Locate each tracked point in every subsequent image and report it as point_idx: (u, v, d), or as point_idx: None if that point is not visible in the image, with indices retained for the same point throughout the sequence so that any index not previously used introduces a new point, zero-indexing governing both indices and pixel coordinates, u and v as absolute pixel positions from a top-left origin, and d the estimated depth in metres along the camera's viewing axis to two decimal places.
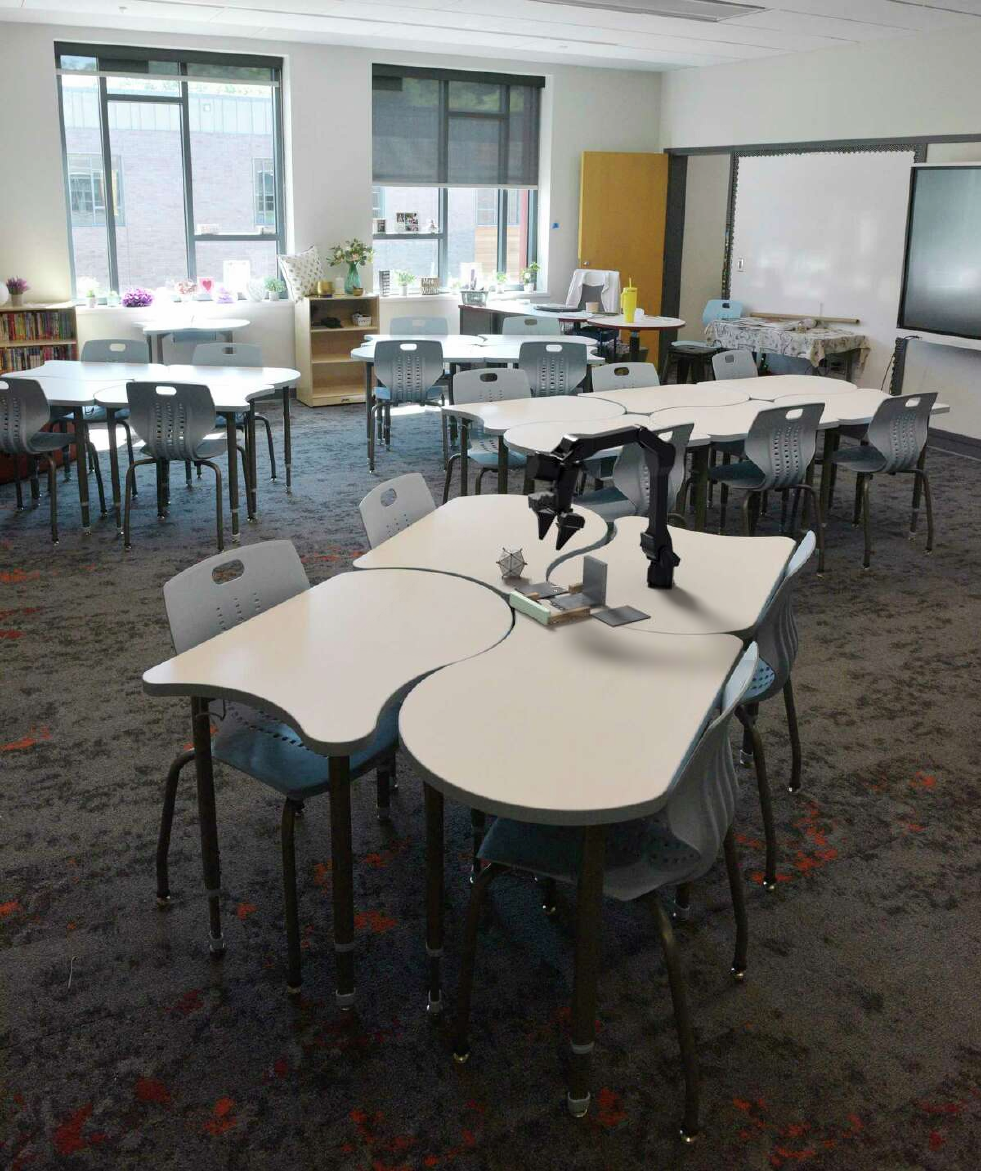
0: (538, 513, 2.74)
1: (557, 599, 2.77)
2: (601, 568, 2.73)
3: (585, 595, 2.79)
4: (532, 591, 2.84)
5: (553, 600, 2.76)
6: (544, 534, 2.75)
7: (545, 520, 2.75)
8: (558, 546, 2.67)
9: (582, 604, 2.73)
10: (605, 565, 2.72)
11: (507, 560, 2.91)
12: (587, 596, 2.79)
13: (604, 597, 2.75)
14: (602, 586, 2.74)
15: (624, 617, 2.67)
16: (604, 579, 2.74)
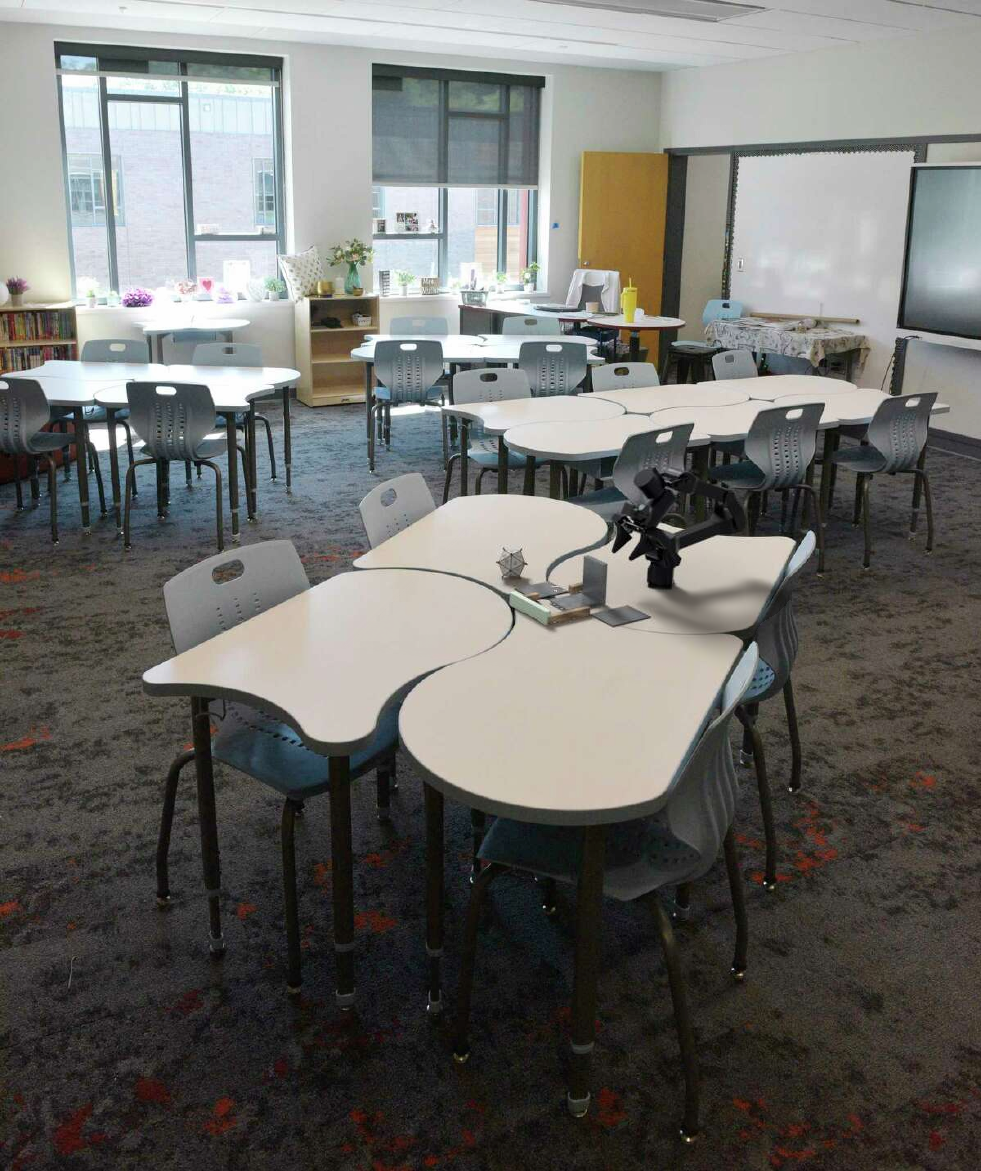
0: (621, 527, 2.82)
1: (557, 599, 2.77)
2: (601, 568, 2.73)
3: (585, 595, 2.79)
4: (532, 591, 2.84)
5: (553, 600, 2.76)
6: (617, 549, 2.83)
7: (623, 537, 2.83)
8: (632, 556, 2.76)
9: (582, 604, 2.73)
10: (605, 565, 2.72)
11: (507, 560, 2.91)
12: (587, 596, 2.79)
13: (604, 597, 2.75)
14: (602, 586, 2.74)
15: (624, 617, 2.67)
16: (604, 579, 2.74)
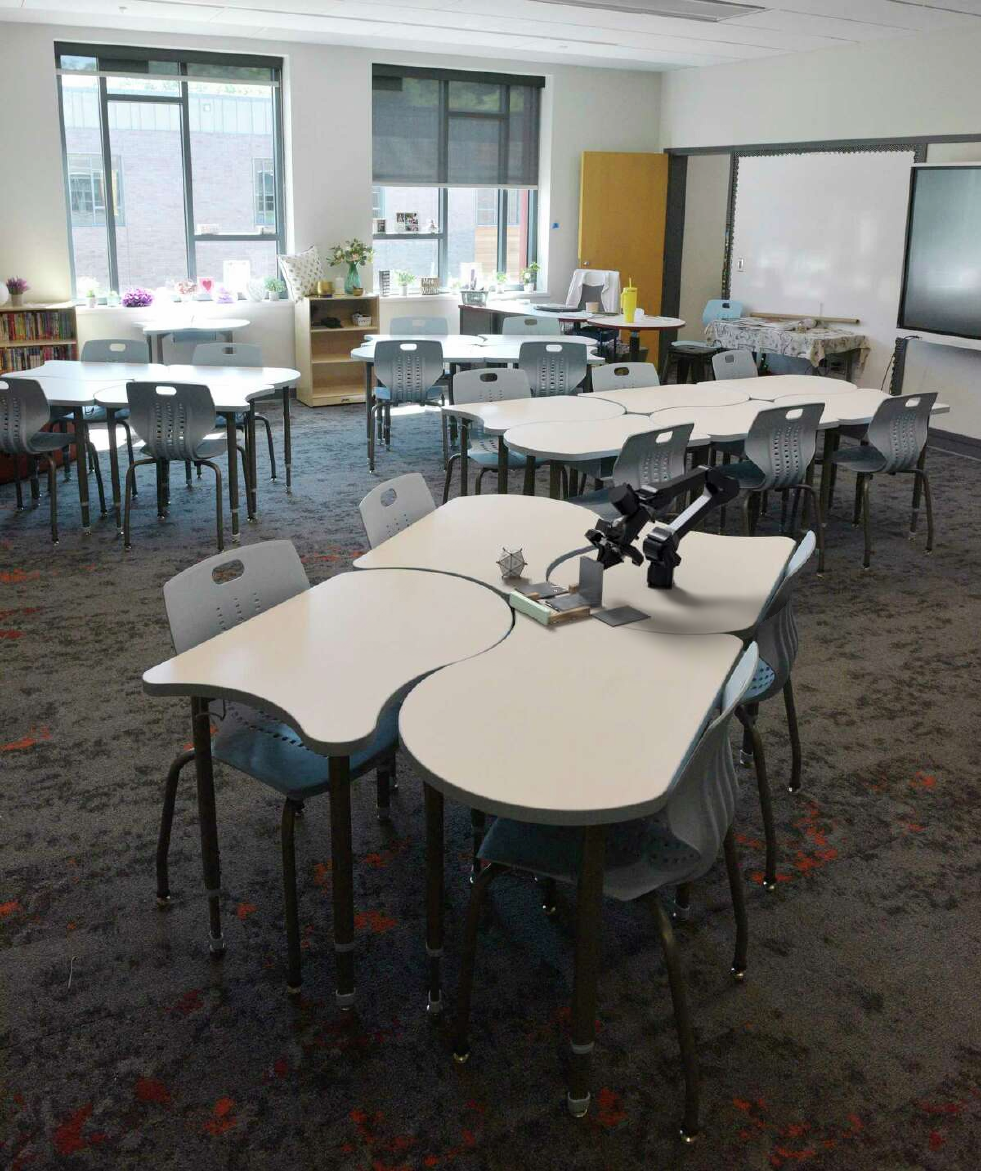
0: (603, 547, 2.76)
1: (553, 600, 2.76)
2: (597, 569, 2.72)
3: (581, 596, 2.79)
4: (532, 591, 2.84)
5: (549, 601, 2.75)
6: None
7: None
8: None
9: (578, 605, 2.73)
10: (601, 566, 2.72)
11: (507, 560, 2.91)
12: (583, 597, 2.78)
13: (600, 598, 2.75)
14: (598, 587, 2.73)
15: (624, 617, 2.67)
16: (600, 580, 2.73)
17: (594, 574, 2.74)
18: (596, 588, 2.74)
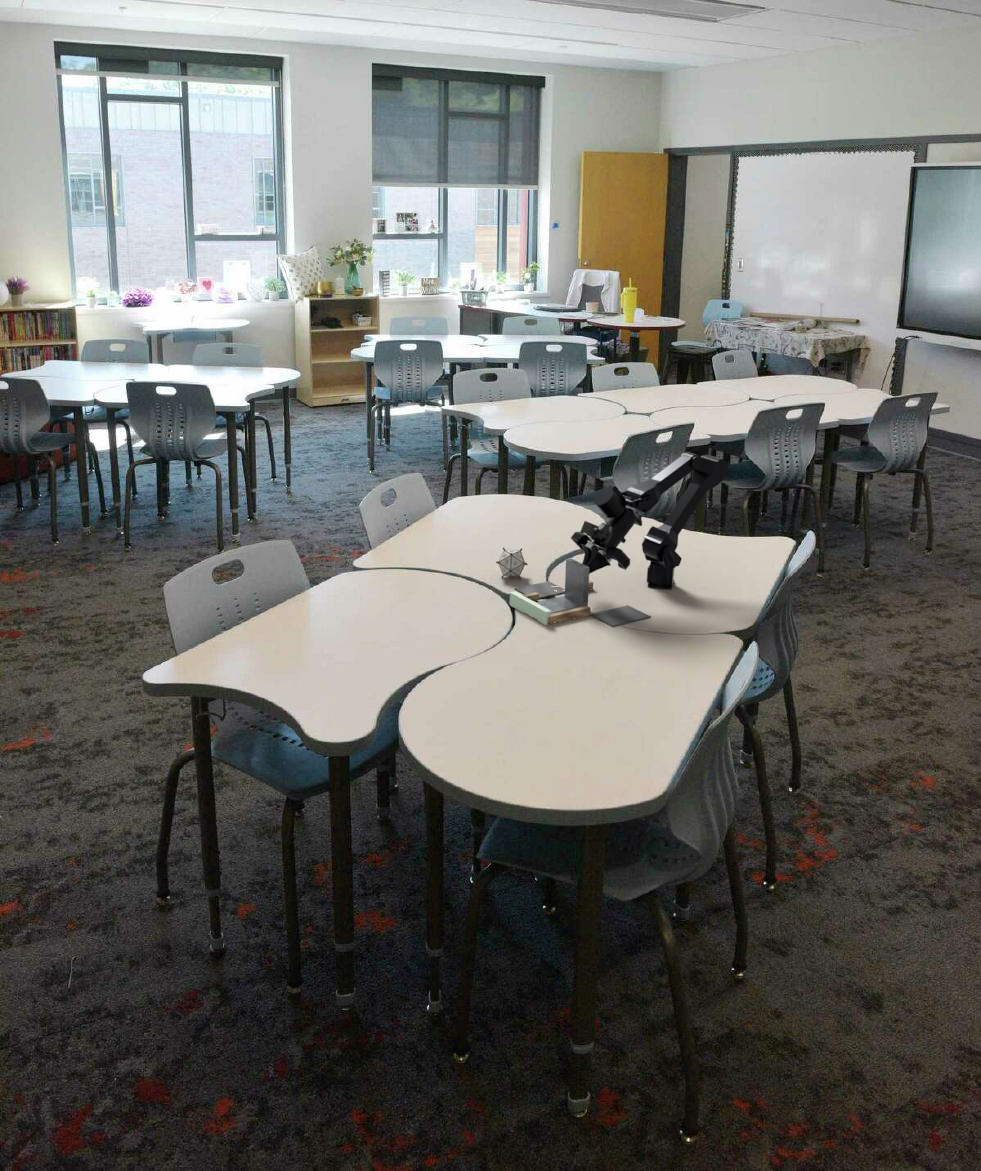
0: (589, 550, 2.74)
1: (539, 603, 2.74)
2: (583, 572, 2.70)
3: (567, 599, 2.77)
4: (532, 591, 2.84)
5: None
6: None
7: None
8: None
9: (564, 608, 2.70)
10: (587, 569, 2.70)
11: (507, 560, 2.91)
12: (569, 600, 2.76)
13: (586, 601, 2.73)
14: (584, 590, 2.71)
15: (624, 617, 2.67)
16: (586, 583, 2.71)
17: (580, 577, 2.71)
18: (582, 591, 2.72)
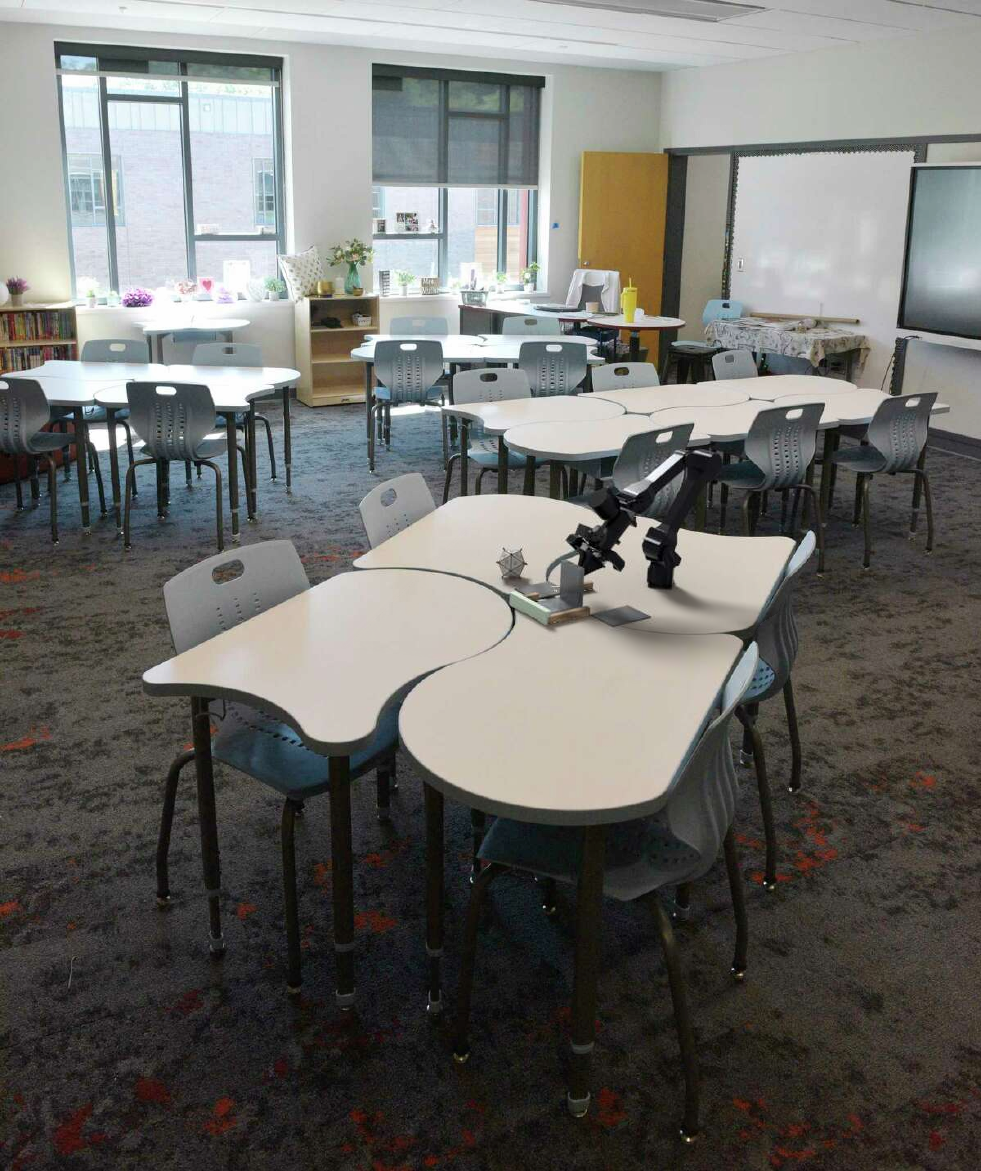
0: (584, 552, 2.74)
1: None
2: (578, 573, 2.69)
3: (562, 600, 2.76)
4: (532, 591, 2.84)
5: None
6: None
7: None
8: None
9: (559, 609, 2.70)
10: (582, 570, 2.69)
11: (507, 560, 2.91)
12: (564, 601, 2.75)
13: (581, 602, 2.72)
14: (579, 591, 2.70)
15: (624, 617, 2.67)
16: (581, 584, 2.70)
17: (575, 578, 2.71)
18: (577, 592, 2.71)
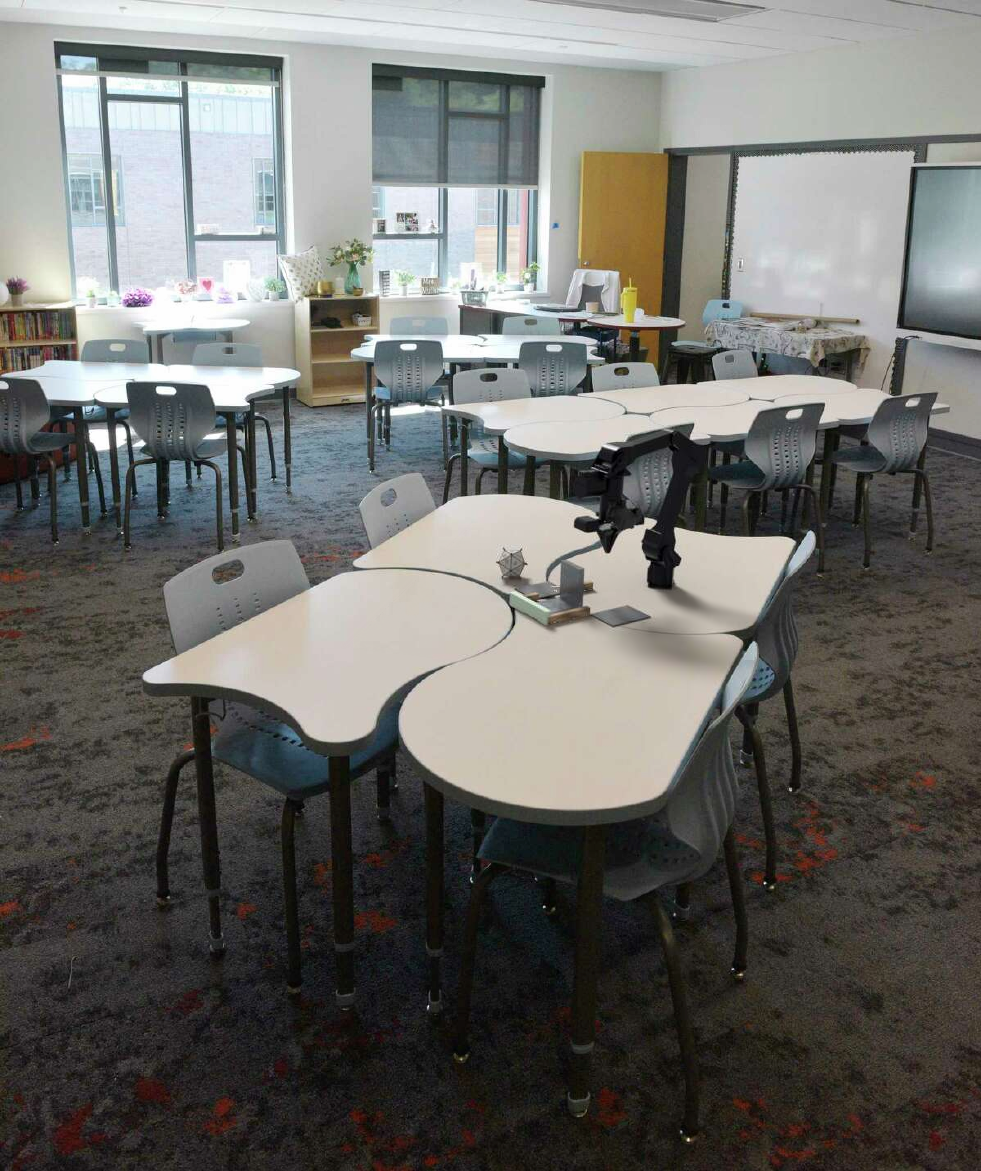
0: None
1: None
2: (578, 573, 2.69)
3: (562, 600, 2.76)
4: (532, 591, 2.84)
5: None
6: None
7: None
8: None
9: (559, 609, 2.70)
10: (582, 570, 2.69)
11: (507, 560, 2.91)
12: (564, 601, 2.75)
13: (581, 602, 2.72)
14: (579, 591, 2.70)
15: (624, 617, 2.67)
16: (581, 584, 2.70)
17: (575, 578, 2.71)
18: (577, 592, 2.71)
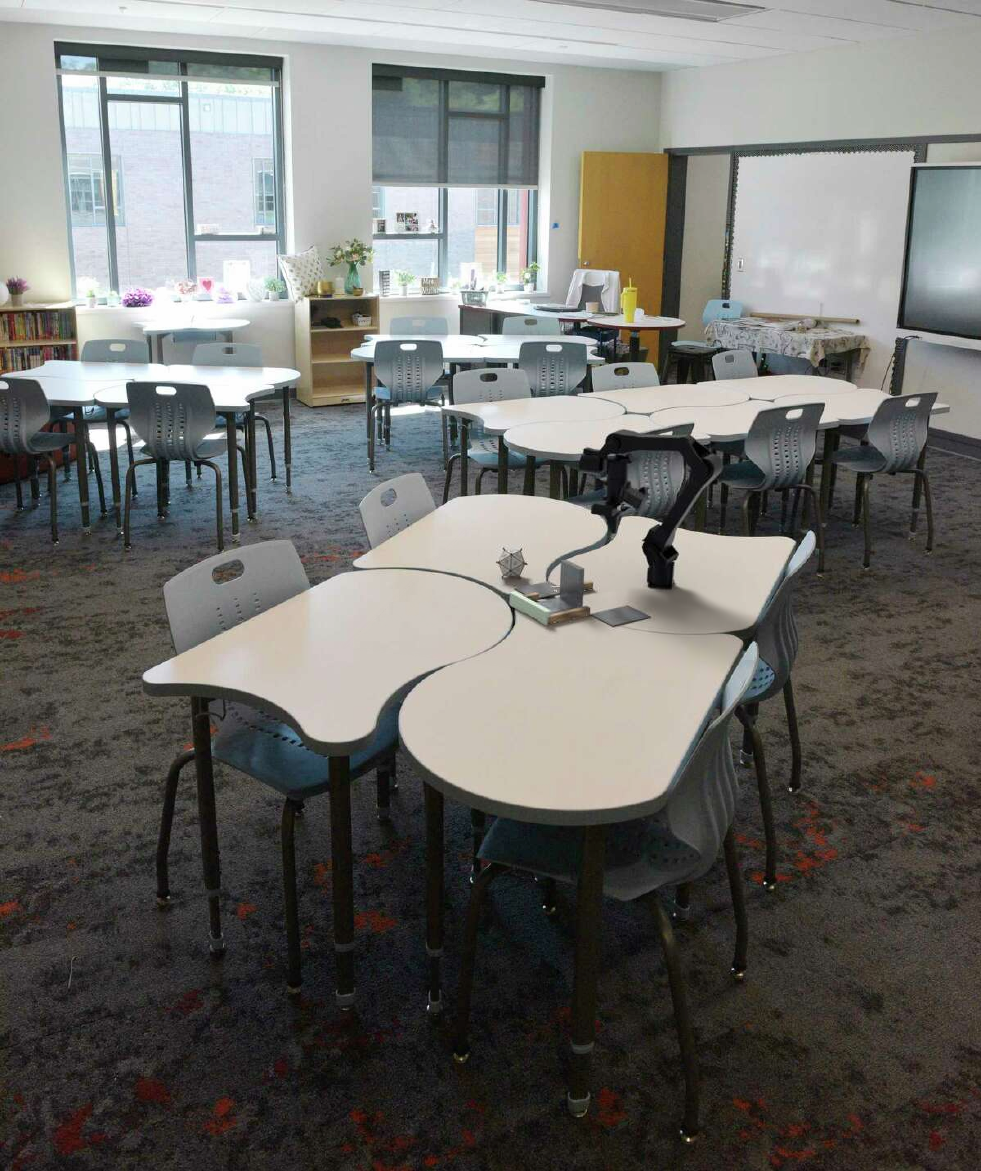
0: None
1: None
2: (578, 573, 2.69)
3: (562, 600, 2.76)
4: (532, 591, 2.84)
5: None
6: None
7: None
8: None
9: (559, 609, 2.70)
10: (582, 570, 2.69)
11: (507, 560, 2.91)
12: (564, 601, 2.75)
13: (581, 602, 2.72)
14: (579, 591, 2.70)
15: (624, 617, 2.67)
16: (581, 584, 2.70)
17: (575, 578, 2.71)
18: (577, 592, 2.71)
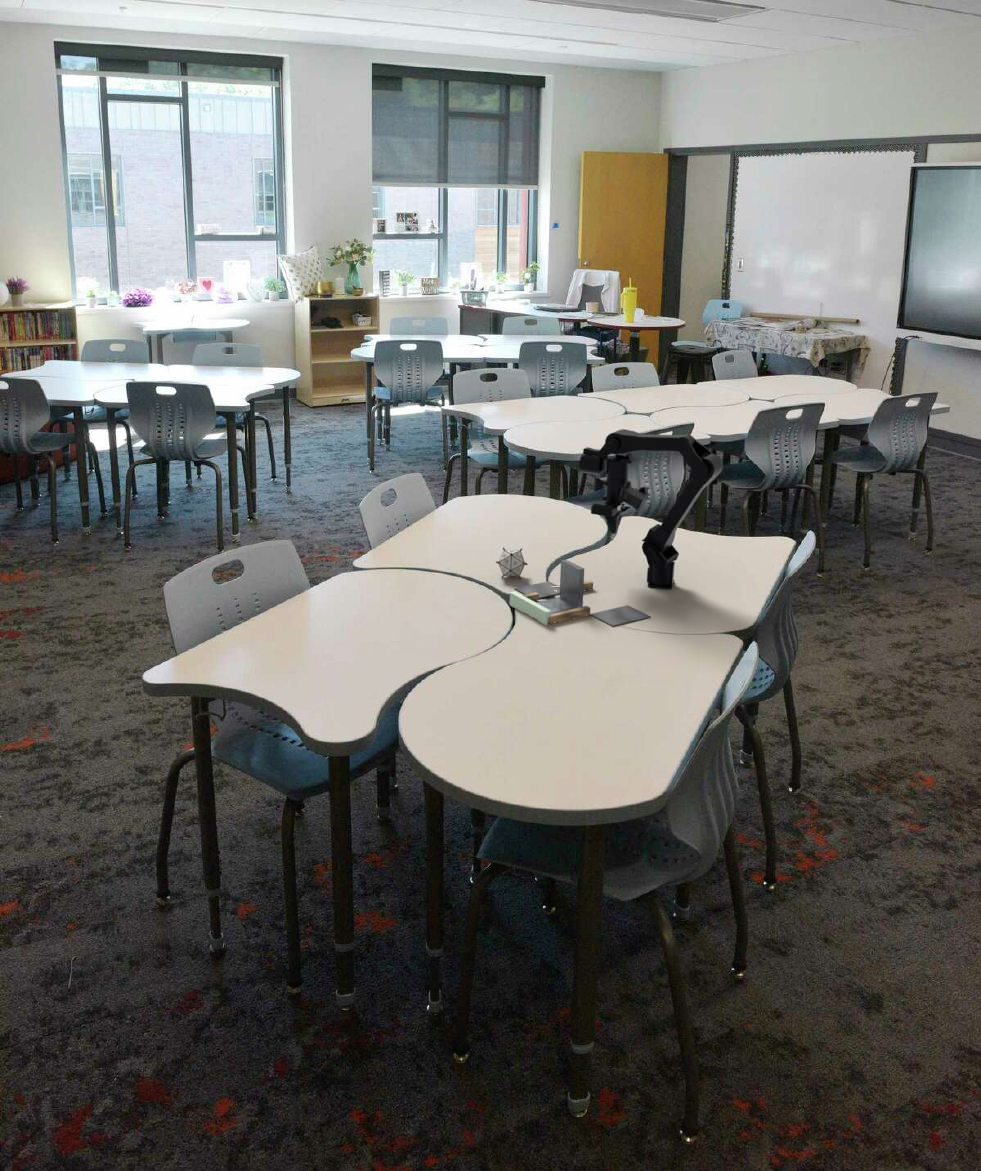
0: None
1: None
2: (578, 573, 2.69)
3: (562, 600, 2.76)
4: (532, 591, 2.84)
5: None
6: None
7: None
8: None
9: (559, 609, 2.70)
10: (582, 570, 2.69)
11: (507, 560, 2.91)
12: (564, 601, 2.75)
13: (581, 602, 2.72)
14: (579, 591, 2.70)
15: (624, 617, 2.67)
16: (581, 584, 2.70)
17: (575, 578, 2.71)
18: (577, 592, 2.71)
